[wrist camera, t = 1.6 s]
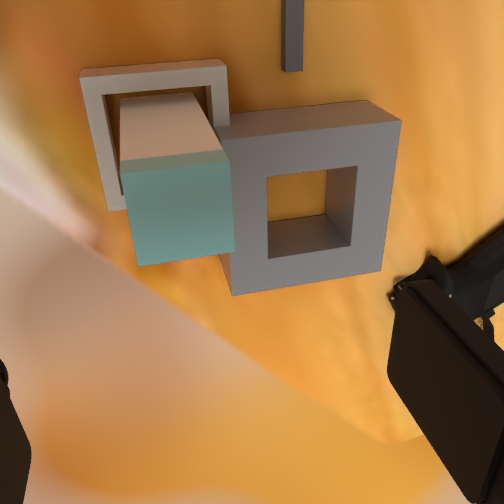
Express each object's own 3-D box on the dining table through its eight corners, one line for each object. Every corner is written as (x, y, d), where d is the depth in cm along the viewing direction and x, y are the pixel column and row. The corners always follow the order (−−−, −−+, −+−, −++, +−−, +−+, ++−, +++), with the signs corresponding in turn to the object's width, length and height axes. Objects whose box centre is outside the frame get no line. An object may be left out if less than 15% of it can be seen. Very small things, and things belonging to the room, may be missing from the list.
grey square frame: (81, 69, 22) (79, 77, 21) (219, 58, 24) (226, 65, 22) (109, 195, 26) (108, 211, 24) (227, 180, 27) (234, 195, 25)
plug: (120, 98, 23) (119, 173, 15) (192, 91, 24) (229, 161, 16) (132, 166, 25) (138, 266, 17) (198, 158, 26) (235, 251, 18)
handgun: (528, 346, 44) (411, 402, 43) (528, 194, 34) (376, 265, 33) (557, 372, 41) (432, 432, 41) (566, 215, 31) (401, 293, 31)
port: (208, 116, 25) (221, 140, 22) (366, 100, 26) (401, 120, 23) (219, 258, 30) (232, 296, 26) (353, 238, 31) (380, 271, 28)
